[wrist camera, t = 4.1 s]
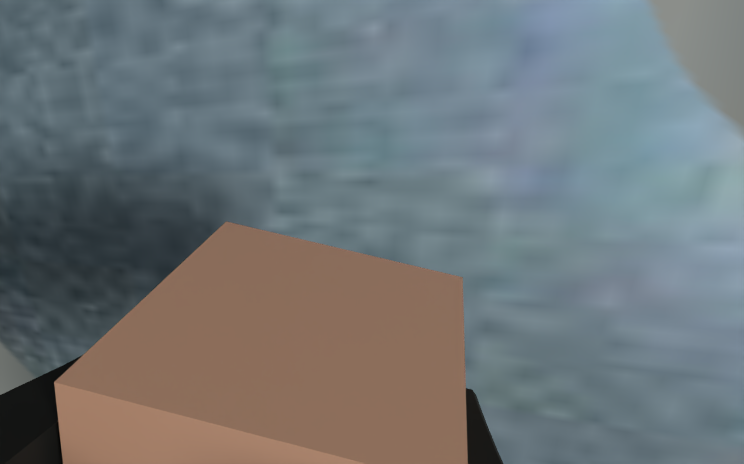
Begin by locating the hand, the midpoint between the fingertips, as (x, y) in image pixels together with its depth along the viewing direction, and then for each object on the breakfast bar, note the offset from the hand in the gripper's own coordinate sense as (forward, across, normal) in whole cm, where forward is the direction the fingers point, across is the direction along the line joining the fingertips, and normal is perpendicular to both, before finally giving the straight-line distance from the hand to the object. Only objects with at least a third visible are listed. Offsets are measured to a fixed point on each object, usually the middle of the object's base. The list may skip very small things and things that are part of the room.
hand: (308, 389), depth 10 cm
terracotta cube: (+1, 0, 0) cm, 1 cm away
